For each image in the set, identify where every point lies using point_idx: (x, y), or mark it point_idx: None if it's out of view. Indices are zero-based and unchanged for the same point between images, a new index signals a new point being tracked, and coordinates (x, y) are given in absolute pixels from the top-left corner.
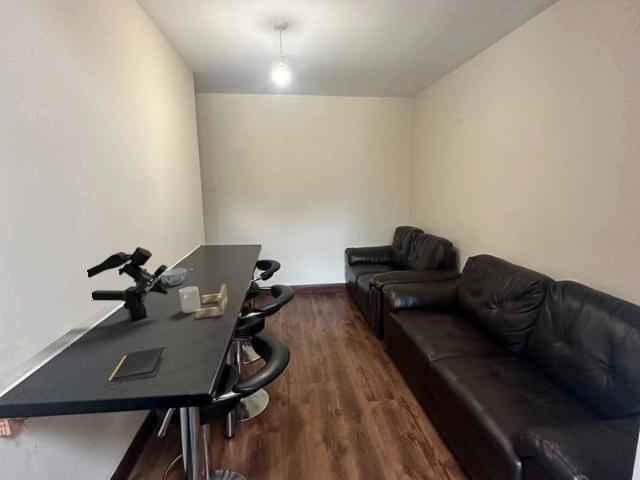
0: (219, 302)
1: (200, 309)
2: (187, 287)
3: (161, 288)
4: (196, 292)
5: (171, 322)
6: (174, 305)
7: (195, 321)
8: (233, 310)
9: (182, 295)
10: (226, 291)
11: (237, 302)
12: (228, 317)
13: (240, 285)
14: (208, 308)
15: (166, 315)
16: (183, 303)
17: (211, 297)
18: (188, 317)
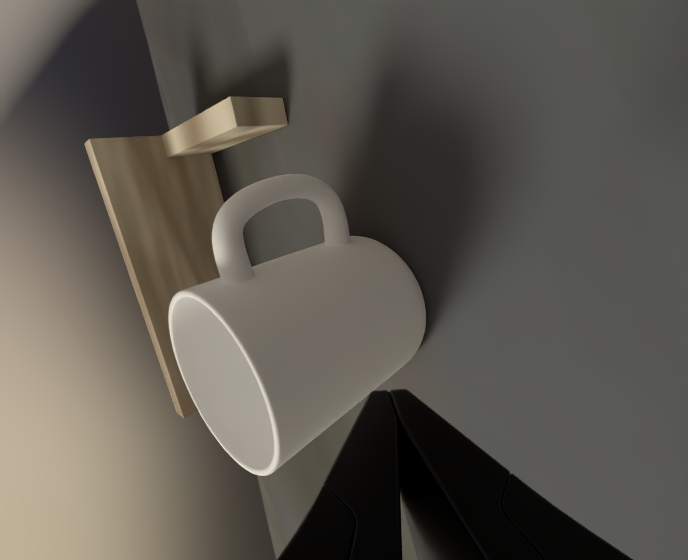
0: (123, 138)
1: (216, 123)
2: (253, 466)
3: (330, 487)
4: (198, 317)
5: (435, 5)
6: None
7: (268, 33)
8: None
9: (256, 297)
10: None
11: None
12: (171, 91)
13: (276, 514)
14: (190, 132)
15: (567, 250)
16: (275, 185)
17: None
18: (336, 130)
